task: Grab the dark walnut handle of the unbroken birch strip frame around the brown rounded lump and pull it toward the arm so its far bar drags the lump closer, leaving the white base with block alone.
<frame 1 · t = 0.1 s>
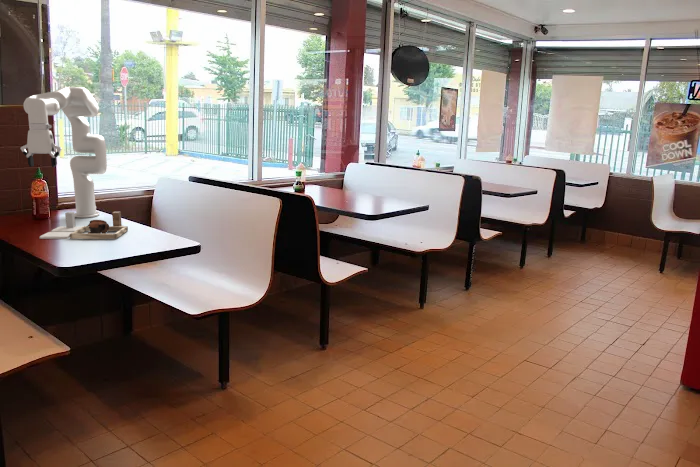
hand: (42, 166, 264), 31 cm above the table, tool pointing down, fingers open, 9 cm apart
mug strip: (101, 224, 274), point 4 cm above the table, slide at 0.0 cm
brown rounded lump: (99, 235, 272), on the table
white base with block: (63, 233, 274), on the table
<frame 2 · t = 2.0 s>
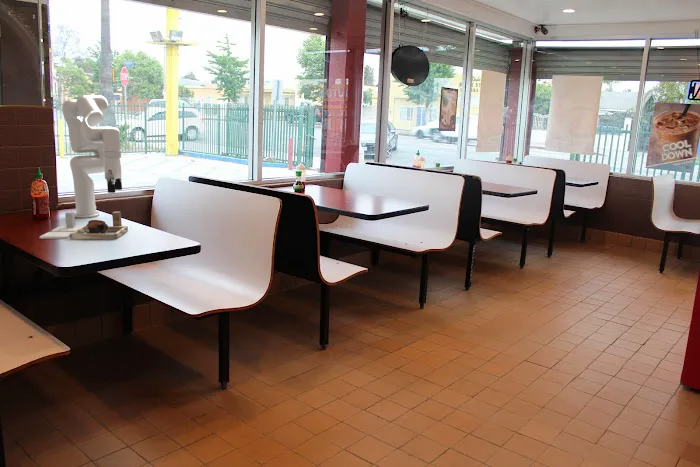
hand: (115, 191, 280), 18 cm above the table, tool pointing down, fingers open, 9 cm apart
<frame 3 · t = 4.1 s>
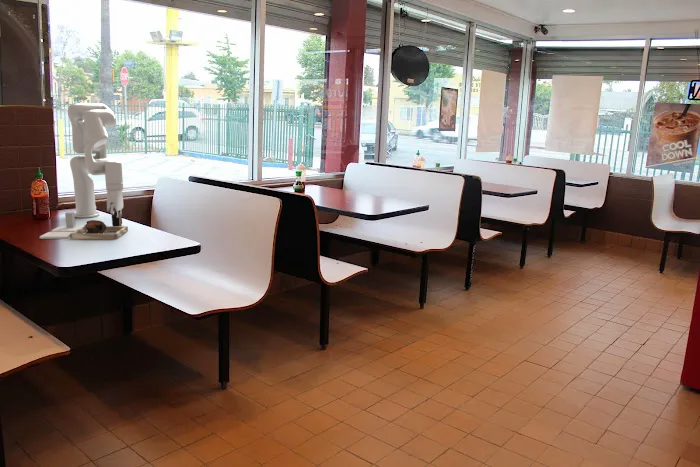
hand: (117, 224, 284), 2 cm above the table, tool pointing down, fingers closed on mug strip, 3 cm apart
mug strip: (101, 224, 274), point 4 cm above the table, slide at 0.0 cm, touching gripper
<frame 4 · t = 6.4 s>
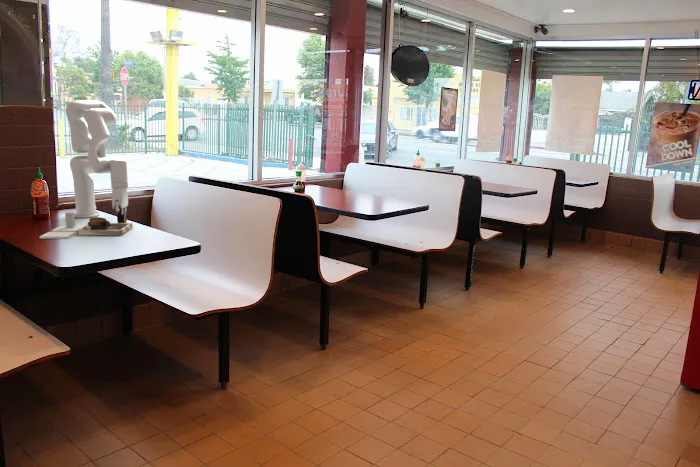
hand: (122, 221, 291), 2 cm above the table, tool pointing down, fingers closed on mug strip, 3 cm apart
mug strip: (107, 221, 282), point 4 cm above the table, slide at 7.4 cm, touching gripper
brown rounded lump: (99, 233, 277), on the table
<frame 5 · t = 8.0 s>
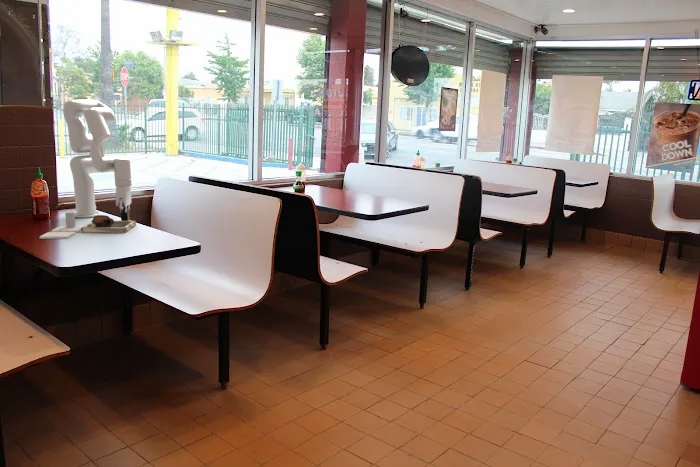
hand: (125, 219, 297), 2 cm above the table, tool pointing down, fingers closed on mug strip, 3 cm apart
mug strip: (111, 218, 287), point 4 cm above the table, slide at 12.9 cm, touching gripper
brown rounded lump: (103, 230, 282), on the table
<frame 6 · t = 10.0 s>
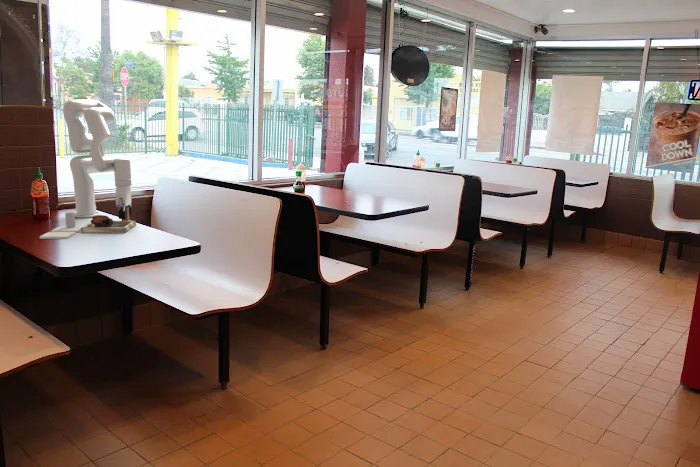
hand: (125, 216, 296), 3 cm above the table, tool pointing down, fingers open, 9 cm apart
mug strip: (110, 218, 287), point 4 cm above the table, slide at 12.8 cm
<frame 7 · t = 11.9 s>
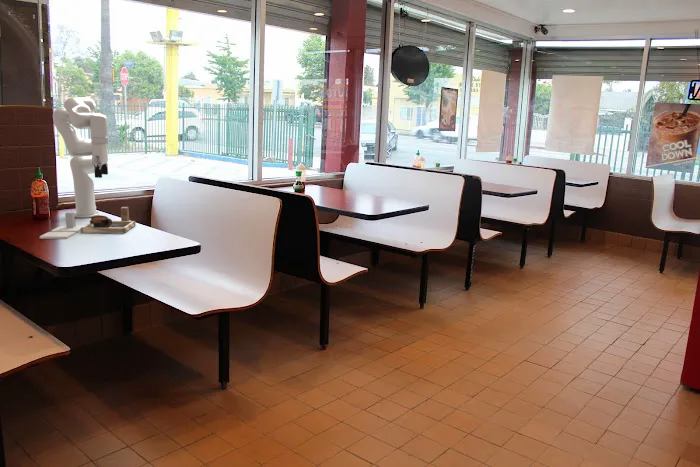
hand: (101, 175, 291), 24 cm above the table, tool pointing down, fingers open, 9 cm apart
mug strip: (110, 219, 286), point 4 cm above the table, slide at 12.4 cm
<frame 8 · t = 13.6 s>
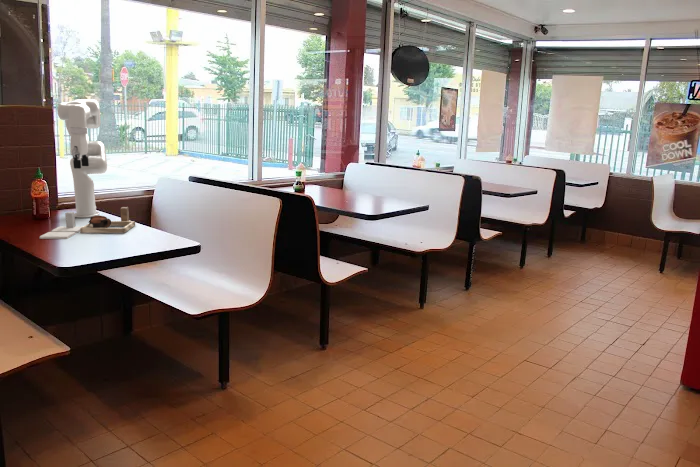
hand: (81, 167, 287), 28 cm above the table, tool pointing down, fingers open, 9 cm apart
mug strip: (110, 219, 286), point 4 cm above the table, slide at 12.0 cm
at the end: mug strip slide at 11.9 cm; brown rounded lump inside the target area (3.5 cm from its centre), on the table; brown rounded lump tilted 0° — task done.
